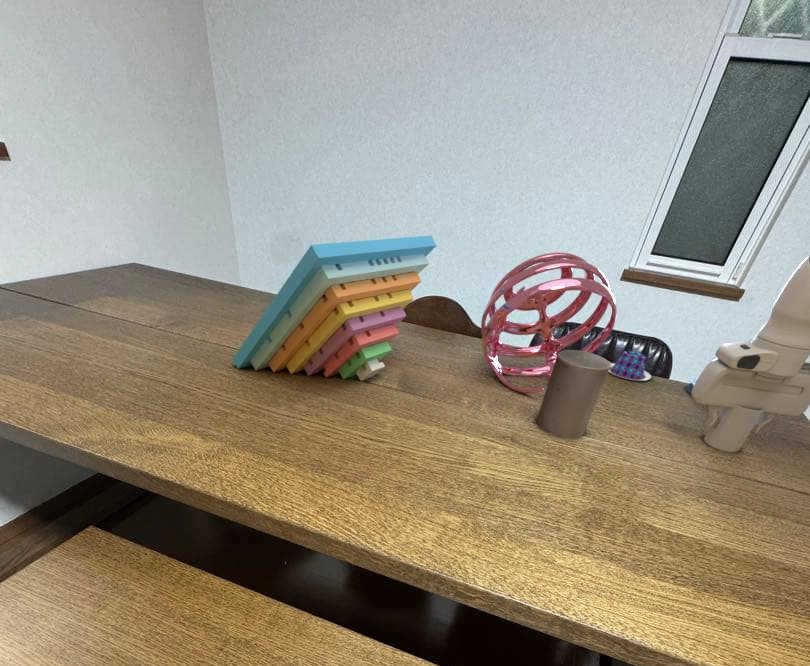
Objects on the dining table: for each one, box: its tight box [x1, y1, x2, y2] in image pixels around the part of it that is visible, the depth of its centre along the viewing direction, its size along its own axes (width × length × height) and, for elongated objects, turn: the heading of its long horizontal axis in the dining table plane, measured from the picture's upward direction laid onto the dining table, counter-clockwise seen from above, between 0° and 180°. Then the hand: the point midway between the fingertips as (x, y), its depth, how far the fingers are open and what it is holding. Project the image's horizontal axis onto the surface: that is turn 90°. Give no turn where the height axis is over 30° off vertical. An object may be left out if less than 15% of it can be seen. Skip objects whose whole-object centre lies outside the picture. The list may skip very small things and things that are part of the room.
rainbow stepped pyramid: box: [232, 235, 437, 382], centre depth 97 cm, size 35×18×35 cm
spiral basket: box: [480, 251, 618, 394], centre depth 98 cm, size 28×28×27 cm
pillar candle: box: [535, 349, 612, 439], centre depth 85 cm, size 10×10×15 cm
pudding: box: [608, 350, 652, 382], centre depth 118 cm, size 12×12×5 cm
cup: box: [703, 406, 765, 453], centre depth 88 cm, size 6×6×9 cm
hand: (730, 429), depth 89 cm, fingers closed on cup, 6 cm apart
